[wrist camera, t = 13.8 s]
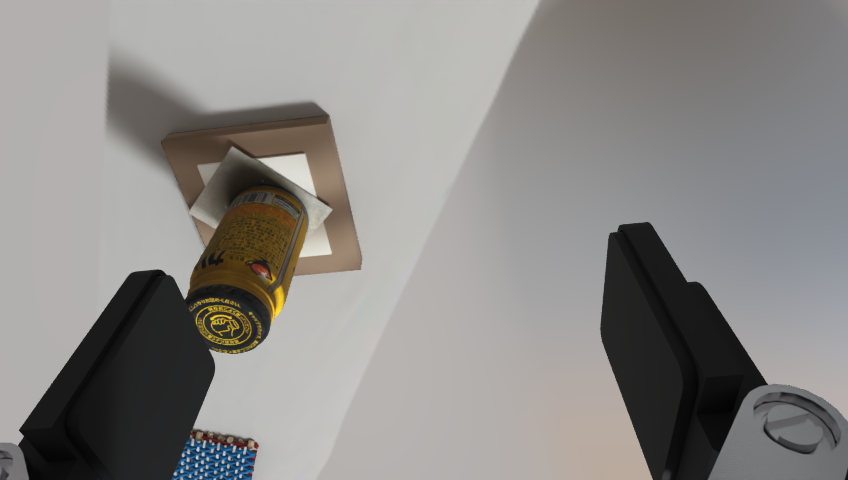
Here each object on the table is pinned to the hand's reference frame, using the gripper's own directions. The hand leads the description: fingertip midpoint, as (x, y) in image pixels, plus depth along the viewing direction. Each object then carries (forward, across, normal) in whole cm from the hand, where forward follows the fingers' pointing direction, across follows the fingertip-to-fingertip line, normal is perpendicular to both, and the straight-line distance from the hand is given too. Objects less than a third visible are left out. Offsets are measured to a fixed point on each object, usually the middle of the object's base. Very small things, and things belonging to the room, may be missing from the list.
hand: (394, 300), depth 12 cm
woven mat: (+29, +30, +46) cm, 62 cm away
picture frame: (+28, +13, +13) cm, 34 cm away
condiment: (+27, +14, +13) cm, 33 cm away
